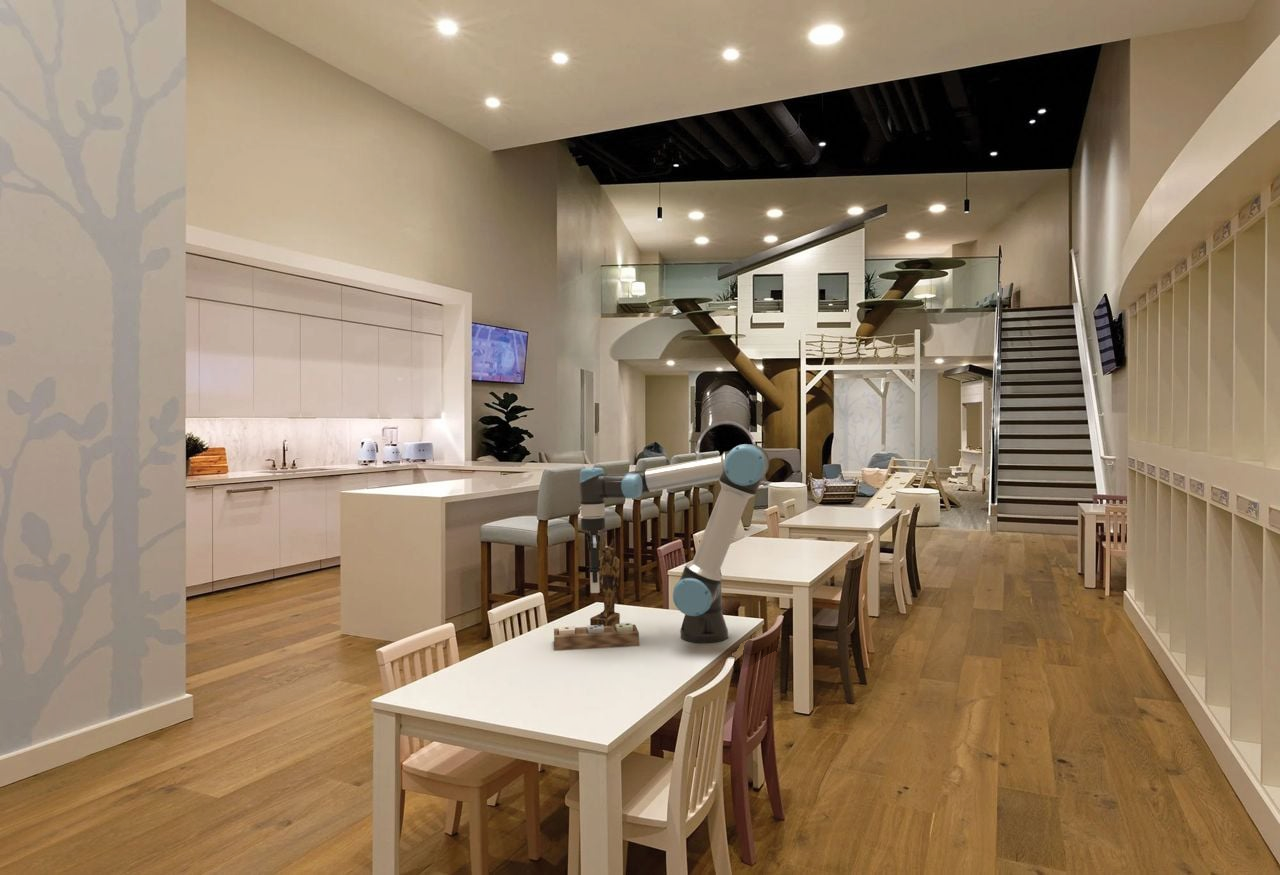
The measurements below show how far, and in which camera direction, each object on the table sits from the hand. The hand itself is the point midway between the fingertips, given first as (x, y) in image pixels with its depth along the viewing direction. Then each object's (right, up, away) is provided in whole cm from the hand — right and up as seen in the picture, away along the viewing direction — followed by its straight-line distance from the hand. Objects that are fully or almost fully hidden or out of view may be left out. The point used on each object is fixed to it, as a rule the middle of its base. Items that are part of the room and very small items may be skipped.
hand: (595, 592), depth 252 cm
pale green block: (+9, -15, +1) cm, 17 cm away
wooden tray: (0, -16, 0) cm, 16 cm away
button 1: (-9, -15, -1) cm, 17 cm away
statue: (+3, -16, +20) cm, 26 cm away
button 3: (0, -15, 0) cm, 15 cm away
